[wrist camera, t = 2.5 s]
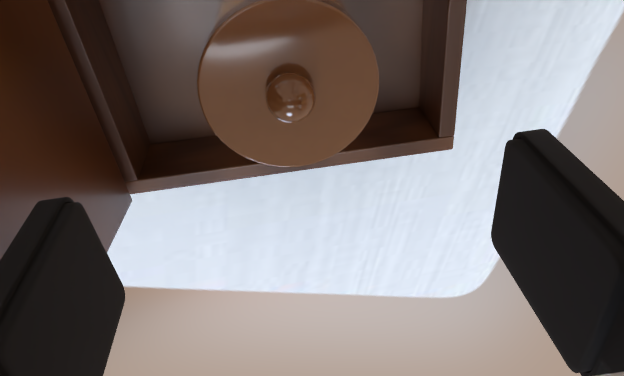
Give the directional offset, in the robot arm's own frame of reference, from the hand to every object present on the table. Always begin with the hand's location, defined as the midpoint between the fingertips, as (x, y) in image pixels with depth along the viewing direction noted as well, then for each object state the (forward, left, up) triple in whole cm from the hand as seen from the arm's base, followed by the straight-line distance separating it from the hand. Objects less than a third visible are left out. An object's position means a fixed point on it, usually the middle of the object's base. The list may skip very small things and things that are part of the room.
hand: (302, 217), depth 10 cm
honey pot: (0, 0, -15) cm, 15 cm away
